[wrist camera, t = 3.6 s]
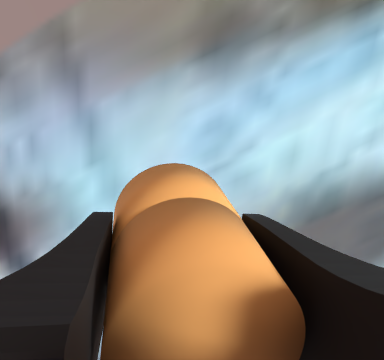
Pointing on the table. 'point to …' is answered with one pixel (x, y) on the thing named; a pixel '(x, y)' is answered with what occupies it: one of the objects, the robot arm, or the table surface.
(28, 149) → the table surface
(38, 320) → the robot arm
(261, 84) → the table surface
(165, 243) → the orange rounded cylinder
